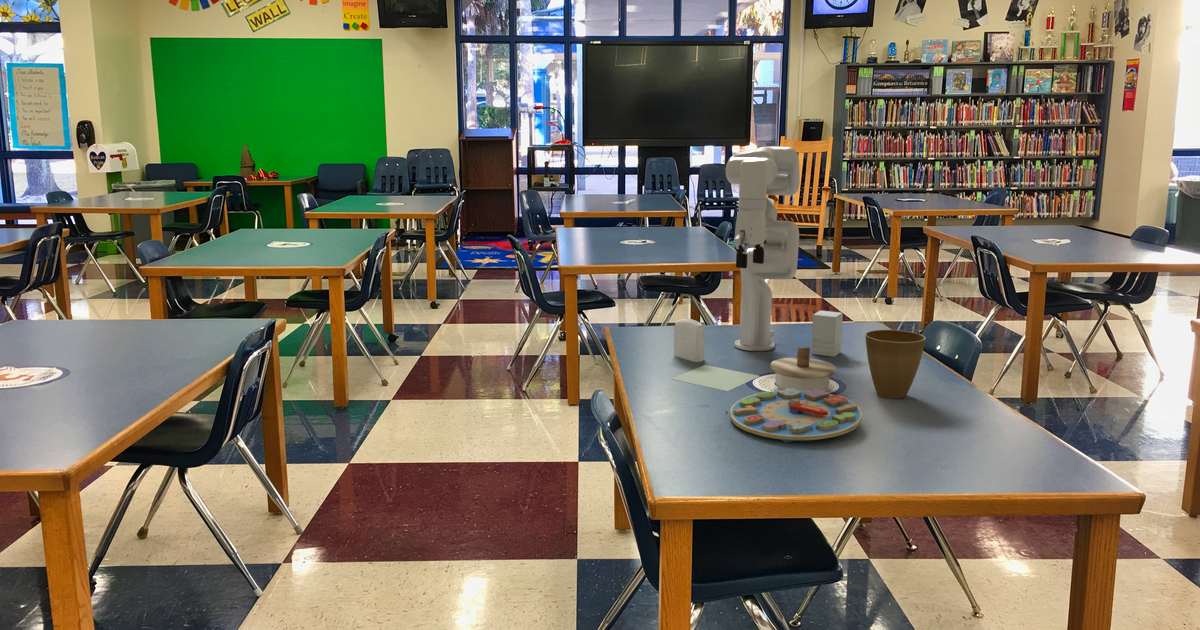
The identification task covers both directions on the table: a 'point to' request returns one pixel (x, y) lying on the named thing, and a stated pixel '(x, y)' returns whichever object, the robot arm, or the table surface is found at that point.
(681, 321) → the photo printer
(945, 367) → the table surface
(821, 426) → the shape sorting clock
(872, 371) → the plant pot
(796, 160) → the robot arm
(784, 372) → the lid
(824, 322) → the supplement box
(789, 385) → the bowl
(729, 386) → the mat
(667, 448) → the table surface
